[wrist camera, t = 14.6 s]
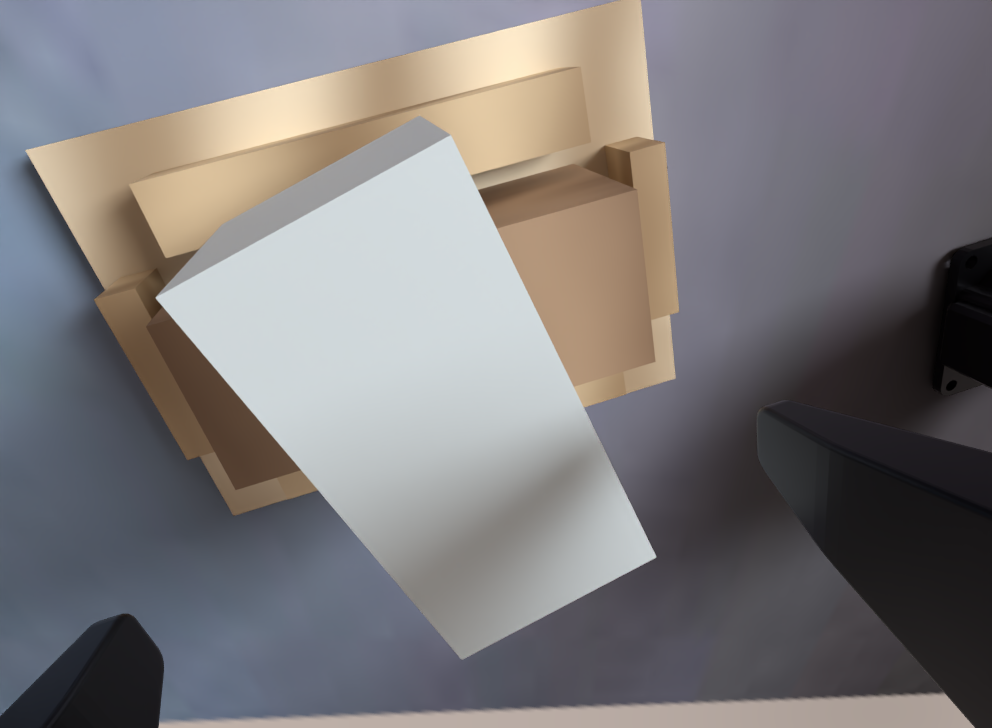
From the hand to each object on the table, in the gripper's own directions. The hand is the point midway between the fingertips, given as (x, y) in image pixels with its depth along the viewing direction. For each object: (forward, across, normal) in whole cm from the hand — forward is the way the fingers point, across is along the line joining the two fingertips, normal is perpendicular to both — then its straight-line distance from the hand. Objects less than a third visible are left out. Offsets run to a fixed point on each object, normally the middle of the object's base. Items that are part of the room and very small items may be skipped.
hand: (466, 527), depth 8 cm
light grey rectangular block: (+6, 0, 0) cm, 6 cm away
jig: (+12, 0, 0) cm, 12 cm away
